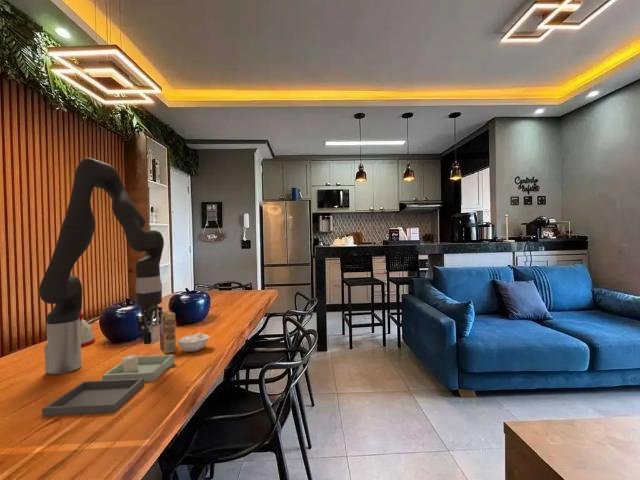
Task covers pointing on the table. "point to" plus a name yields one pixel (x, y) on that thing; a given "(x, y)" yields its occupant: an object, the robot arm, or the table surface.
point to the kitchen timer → (86, 333)
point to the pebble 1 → (130, 364)
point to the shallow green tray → (143, 368)
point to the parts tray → (94, 397)
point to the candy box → (167, 332)
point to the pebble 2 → (154, 334)
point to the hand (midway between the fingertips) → (151, 341)
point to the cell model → (193, 342)
